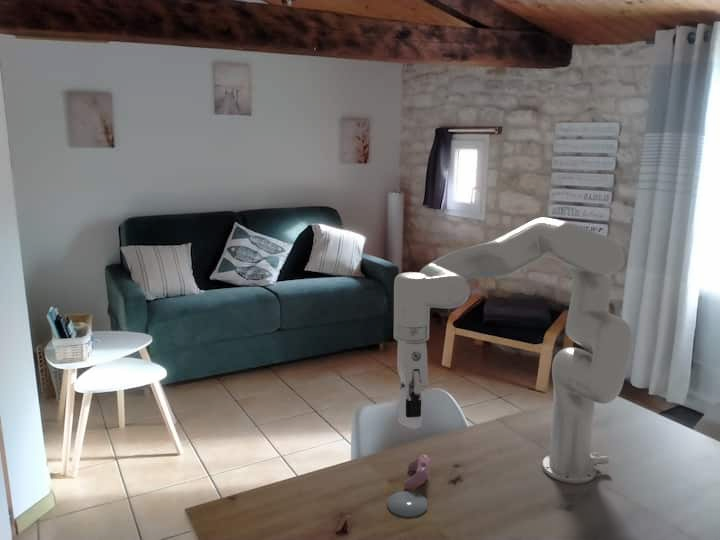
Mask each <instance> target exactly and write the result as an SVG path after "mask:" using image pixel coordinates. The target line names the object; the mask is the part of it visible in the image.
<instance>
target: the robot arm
mask: <svg viewBox="0 0 720 540" xmlns="http://www.w3.org/2000/svg"><path fill="white" fill-rule="evenodd" d="M624 255H625V254H624V249H623V247H622V246H621V244H620V243H619V242H618V241H616V240H615V239H613V238H611V237H608V236H606V235H604V234H600V233H599V232H596V231H593V230H590V229H588V228H585V227H583V226H581V225H579V224H577V223H575V222H570V221H566V220H562V219H556V218H551V217H537V218H534V219H532V220H531V221H528V222H526V223H524V224H522V225H521V226H518V227H517V228H515V229H512V230H511V231H509V232H506V233H505V234H503V235H501V236H499V237H497V238H495V239H493V240H491V241H487V242H485V243H479V244H475V245H472V246H469V247H465V248H461V249H459V250H455V251H452V252H449V253H447V254H445V255H443V256H440V257H439V258H436V259H435V260H433V261H431V262H429V263H428V264H426V265H425V266H423V267H422V268H421V269H420V271H419V272H418V271H417V272H416V271H415V272H413V271H408V272H402V273H399V274H397V275H396V276H395V278H394V281H393V282H394V283H393V339H394V340H395V341H397V352H396V353H397V354H396V355H397V358H396V363H397V364H396V365H397V373H398V375H399V377H400V383H399V384H400V387H399V390H400V389H401V388H403V387H405V386H406V387H407V398H408V399H406V417H407V418H409V417H420V416H421V394H422V387H425V388H426V387H428V386H429V370H428V366H429V365H428V349H427V347H428V346H427V341H429V339H430V311H431V308H435V309H456V308H458V307H460V306H463V305H464V304H465V303H466V302H467V301H468V299H469V297H470V295H471V289H470V288H471V287H470V284H469V282H468V280H472V279H480V278H483V279H484V278H489V279H490V278H491V279H495V278H498V279H499V278H506V277H509V276H512V275H514V274H515V273H517V272H519V271H521V270H523V269H525V268H527V267H528V266H530V265H533V264H534V263H537V262H538V261H540V260H541V259H544V258H550V259H552V260H556V261H559V262H562V264H564V266H565V267H566V269H567V270H568V271H569V273H570V276H571V279H572V280H571V281H572V290H571V297H570V301H569V306H568V307H569V308H568V312H567V317H566V323H565V333H566V336H567V338H568V339H569V340H570V341H572V342H573V343H575V344H577V345H579V346H581V347H583V348H585V349H588V350H589V351H591V352H592V353H590V352H588V351H586V350H584V349H582V348H577V347H574V346H571V347H569V346H568V347H565V348H562V349H561V350H559V351H558V352H557V353H556V354H555V356H554V357H553V359H552V362H551V376H552V377H551V379H552V384H553V404H552V414H551V415H552V416H551V417H552V418H551V428H550V429H551V430H550V442H549V455H547V456H546V457H544V458H543V460H542V463H541V464H542V465H541V467H542V470H543V472H545V473H546V474H547V475H548V476H550V477H551V478H553V479H555V480H557V481H560V482H563V483H569V484H585V483H589V482H590V481H593V480H594V479H595V476H596V468H595V467H596V466H597V465H608V464H609V457H608V456H607V455H600V456H599V453H598V452H597V451H596V452H591V451H592V439H593V427H594V417H595V409H596V408H595V403H597V404H600V405H601V404H604V405H605V404H610V403H612V402H613V401H615V400H616V399H617V397H618V396H619V395H620V393H621V391H622V389H623V386H624V382H625V380H626V379H625V378H626V373H627V369H628V363H629V360H630V355H631V350H632V344H633V336H632V335H633V334H632V331H631V327H630V326H629V324H628V322H627V321H626V320H625V319H623V318H622V317H620V316H618V315H615V314H613V313H610V312H609V311H610V310H609V308H610V307H609V306H610V301H611V293H612V292H611V290H612V282H611V278H610V277H611V276H613V275H614V274H615V273H617V272H619V270H620V269H621V267H622V266H623V263H624V258H625V257H624ZM409 383H413V384H414V385H410V384H409ZM413 388H414V391H412V392H411V389H413Z"/></svg>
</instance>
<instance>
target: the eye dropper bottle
mask: <svg viewBox="0 0 720 540" xmlns="http://www.w3.org/2000/svg"><path fill="white" fill-rule="evenodd" d="M409 384H410V385H414V384H413V383H409ZM412 391H414V388H413V389H411V392H412ZM397 399H398V402H397V404H398V405H397V406H398V407H397V409H398V410H397V421H398V422H399V424H400V425H402V426H404V427H406V428H408V429H412V430H417V429H419V428H421V427H422V426H423V394H422V393H421V416H420V417H409V418H407V417H406V399H408V398H407V387H406V386H405V387H403V388H401V389H400V388H399V390H398V398H397Z"/></svg>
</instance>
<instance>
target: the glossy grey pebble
mask: <svg viewBox="0 0 720 540" xmlns="http://www.w3.org/2000/svg"><path fill="white" fill-rule="evenodd" d="M387 507H388V510H390V512H391V513H393V514H395V515H398V516H400V517H404V518H414V517H415V518H416V517H419V516H421V515H423V514H424V513H425V512H426V511H427V509H428V507H429V506H428V500H427V499H426V497H425V496H423V495H422V494H420V493H418V492H414V491H409V490H407V491H406V490H404V491H403V490H402V491H398V492H394V493H393V494H392V495H389V497H388V499H387Z"/></svg>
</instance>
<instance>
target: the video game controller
mask: <svg viewBox="0 0 720 540" xmlns="http://www.w3.org/2000/svg"><path fill="white" fill-rule="evenodd" d="M431 461H432V457H431V456H429V455H427V454H424V453H422V454H421V455H420V456H418V457H417V458H416V459H414V460H412V461H409V464H407V469H408V470H409V472H415V473H414V474H413V475H412V476H411V477H409V478H408V479H406V480H405V481H404V482H403V487H404V488H405V489H406V490H415V489H417V488H418V487H419V486H421V485H423V484H425V482H426V481H429V480H430V475H429V473H430V470H429V468H430V464H431Z"/></svg>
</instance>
